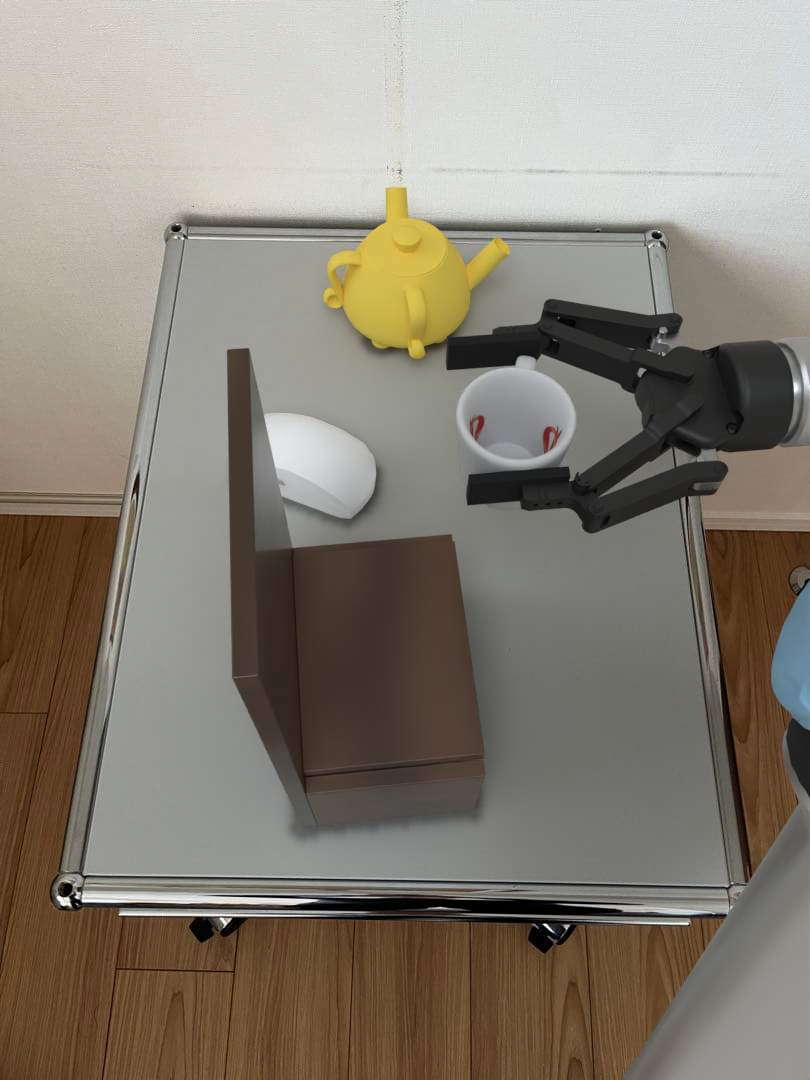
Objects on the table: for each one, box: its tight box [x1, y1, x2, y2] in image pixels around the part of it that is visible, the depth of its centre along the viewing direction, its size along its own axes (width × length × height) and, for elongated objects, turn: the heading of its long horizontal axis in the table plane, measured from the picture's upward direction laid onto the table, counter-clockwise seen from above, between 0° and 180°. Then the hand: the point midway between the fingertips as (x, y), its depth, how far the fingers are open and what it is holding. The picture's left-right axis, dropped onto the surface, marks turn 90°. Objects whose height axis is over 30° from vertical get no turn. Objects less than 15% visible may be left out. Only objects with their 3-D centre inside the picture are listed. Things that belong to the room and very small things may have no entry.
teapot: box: [322, 186, 511, 360], centre depth 90 cm, size 14×14×11 cm
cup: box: [455, 355, 578, 511], centre depth 66 cm, size 11×8×8 cm
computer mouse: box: [264, 412, 377, 520], centre depth 83 cm, size 6×13×6 cm, turn 67°
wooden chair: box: [226, 347, 486, 829], centre depth 61 cm, size 13×18×34 cm
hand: (456, 419), depth 64 cm, fingers closed on cup, 10 cm apart
